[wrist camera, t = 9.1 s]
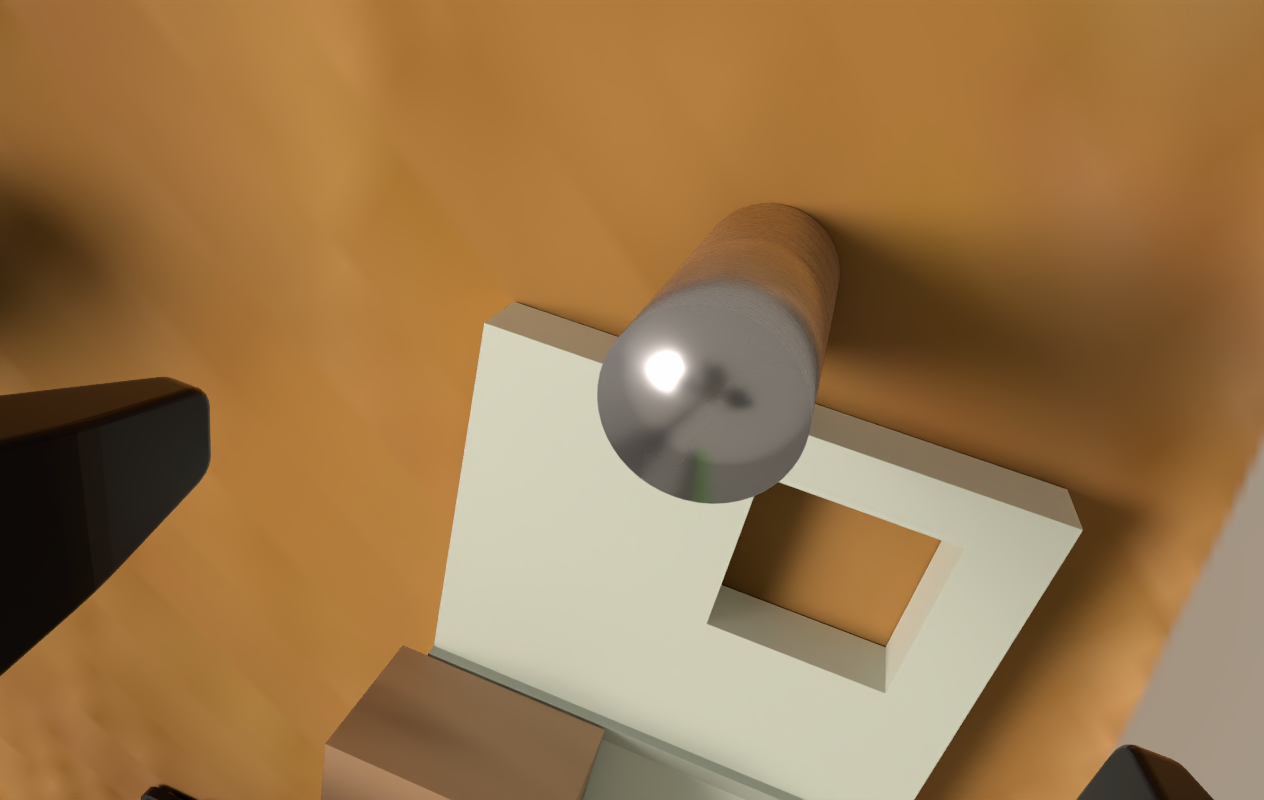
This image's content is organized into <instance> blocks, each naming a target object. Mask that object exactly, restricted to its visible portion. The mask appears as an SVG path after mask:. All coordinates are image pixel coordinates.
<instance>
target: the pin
mask: <svg viewBox="0 0 1264 800" xmlns="http://www.w3.org/2000/svg"><path fill="white" fill-rule="evenodd" d="M839 280H840V266H839V259H838V255H837V251H836V249H835V246H834V244H833V242H832V240H831V238H830V237H829V235H828V233H827V232H826V231H825V230H824V228H823V227H822V226H821V225H820V224H819V223H818V222H817V221H816V220H815V219H813V218H812V217H810V216H809V215H808V214H806V213H804V212H802V211H800V210H798V209H796V208H793V207H790V206H786V205H782V204H774V203H763V204H756V205H751V206H748V207H744V208H742V209H740V210H737V211H735V212H733V213H732V214H730V215H729V216H727V217H726V218H725V219H723V220H722V221H721V222H720V223H719V224H718V225H717V226H716V227H715V228H714V229H713V230H712V232H711V233H710V234H709V235H708V236H707V237H706V238H705V240H704V241H703V242H702V243H701V244H700V245H699V246H698V248H697V249H696V250H695V251H694V252H693V253H692V254H691V256H690V257H689V258H688V259H687V260H686V261H685V262H684V263H683V265H682V266H681V267H680V268H679V269H678V270H677V271H676V273H675V274H674V275H673V276H672V277H671V278H670V279H669V281H668V282H667V283H666V284H665V285H664V286H663V287H662V289H661V290H660V291H659V292H658V293H657V294H656V295H655V297H654V298H653V299H652V300H651V301H650V302H649V303H648V304H647V306H646V307H645V308H644V309H643V310H642V311H641V312H640V314H639V315H638V316H637V317H636V318H635V319H634V320H633V322H632V323H631V324H630V325H629V326H628V327H627V328H626V330H625V331H624V332H623V333H622V334H621V335H620V336H619V338H618V339H617V340H616V341H615V343H614V344H613V345H612V347H611V348H610V350H609V351H608V354H607V356H606V358H605V360H604V362H603V365H602V368H601V371H600V374H599V380H598V386H597V402H598V411H599V415H600V419H601V424H602V426H603V429H604V431H605V434H606V436H607V438H608V440H609V442H610V444H611V446H612V447H613V449H614V450H615V452H616V453H617V455H618V456H619V458H620V459H621V460H622V461H623V462H624V463H625V464H626V466H627V467H628V468H629V469H630V470H632V471H633V472H634V473H635V474H636V475H637V476H638V477H639V478H641V479H642V480H644V481H645V482H646V483H648V484H649V485H651V486H653V487H655V488H656V489H658V490H660V491H662V492H664V493H666V494H669V495H671V496H674V497H677V498H680V499H683V500H687V501H692V502H698V503H709V504H719V503H730V502H736V501H741V500H744V499H748V498H751V497H753V496H756V495H758V494H760V493H762V492H764V491H766V490H768V489H769V488H771V487H773V486H774V485H775V484H777V483H778V482H779V481H780V480H782V479H783V478H784V477H785V476H786V475H787V474H788V473H789V472H790V470H791V469H792V468H793V467H794V465H795V464H796V462H797V461H798V460H799V458H800V456H801V454H802V452H803V450H804V448H805V446H806V443H807V439H808V436H809V432H810V427H811V422H812V417H813V412H814V407H815V402H816V397H817V392H818V387H819V382H820V377H821V372H822V367H823V362H824V357H825V352H826V347H827V342H828V337H829V332H830V327H831V322H832V317H833V312H834V307H835V302H836V296H837V291H838V286H839Z"/></svg>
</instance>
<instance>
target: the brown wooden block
mask: <svg viewBox="0 0 1264 800" xmlns="http://www.w3.org/2000/svg"><path fill="white" fill-rule="evenodd" d="M604 731H605V730H604V729H601V728H599V727H597V726H594V725H592V724H589V723H587V722H585V721H582V720H580V719H577V718H575V717H573V716H570V715H568V714H566V713H563V712H561V711H558V710H556V709H554V708H551V707H549V706H546V705H544V704H542V703H539V702H537V701H534V700H532V699H530V698H527V697H525V696H522V695H520V694H518V693H515V692H513V691H511V690H508V689H506V688H503V687H501V686H499V685H496V684H494V683H491V682H489V681H487V680H484V679H482V678H479V677H477V676H475V675H472V674H470V673H467V672H465V671H463V670H460V669H458V668H456V667H453V666H451V665H448V664H446V663H444V662H441V661H439V660H436V659H434V658H432V657H429V656H427V655H424V654H422V653H420V652H417V651H415V650H412V649H410V648H408V647H405V646H402V647H401V649H400V650H399V651H398V652H397V654H396V655H395V656H394V657H393V659H392V660H391V661H390V662H389V664H388V665H387V666H386V668H385V669H384V670H383V671H382V673H381V674H380V675H379V676H378V678H377V679H376V680H375V681H374V683H373V684H372V685H371V687H370V688H369V689H368V690H367V692H366V693H365V694H364V695H363V697H362V698H361V699H360V700H359V702H358V703H357V704H356V706H355V707H354V708H353V709H352V711H351V712H350V713H349V714H348V716H347V717H346V718H345V719H344V721H343V722H342V723H341V725H340V726H339V727H338V728H337V730H336V731H335V732H334V733H333V735H332V736H331V737H330V738H329V740H328V741H327V742H326V744H325V754H324V768H323V781H322V795H321V800H583V797H584V794H585V791H586V788H587V785H588V782H589V778H590V775H591V772H592V769H593V766H594V763H595V760H596V756H597V753H598V750H599V747H600V744H601V741H602V738H603V734H604Z"/></svg>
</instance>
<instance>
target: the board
mask: <svg viewBox="0 0 1264 800" xmlns="http://www.w3.org/2000/svg"><path fill="white" fill-rule="evenodd" d="M618 338H619V337H617V336H614V335H611V334H608V333H605V332H602V331H599V330H596V329H593V328H590V327H588V326H585V325H582V324H579V323H576V322H573V321H570V320H567V319H564V318H561V317H558V316H555V315H552V314H549V313H546V312H543V311H540V310H537V309H535V308H532V307H529V306H526V305H523V304H520V303H517V302H513V303H511V304H510V305H509V306H507V307H506V308H504V309H503V310H502V311H500V312H499V313H498V314H496V315H495V316H493V317H492V318H491V319H489V320H488V321H487V322H485V323H484V329H483V336H482V342H481V349H480V355H479V361H478V368H477V374H476V380H475V387H474V393H473V400H472V406H471V412H470V419H469V425H468V432H467V438H466V444H465V451H464V457H463V464H462V470H461V476H460V483H459V489H458V495H457V502H456V508H455V515H454V521H453V527H452V534H451V540H450V547H449V553H448V559H447V566H446V572H445V579H444V585H443V591H442V598H441V604H440V610H439V617H438V623H437V630H436V636H435V642H434V646H433V648H432V649H431V650H430V652H429V654H428V656H429V657H432V658H434V659H436V660H439V661H441V662H444V663H446V664H448V665H451V666H453V667H456V668H458V669H460V670H463V671H465V672H467V673H470V674H472V675H475V676H477V677H479V678H482V679H484V680H487V681H489V682H491V683H494V684H496V685H499V686H501V687H503V688H506V689H508V690H511V691H513V692H515V693H518V694H520V695H522V696H525V697H527V698H530V699H532V700H534V701H537V702H539V703H542V704H544V705H546V706H549V707H551V708H554V709H556V710H558V711H561V712H563V713H566V714H568V715H570V716H573V717H575V718H577V719H580V720H582V721H585V722H587V723H589V724H592V725H594V726H597V727H599V728H601V729H604V730H605V731H604V734H603V738H602V741H601V744H600V747H599V750H598V753H597V756H596V760H595V763H594V766H593V769H592V772H591V775H590V778H589V782H588V785H587V788H586V791H585V794H584V797H583V800H914V799H915V798H916V796H917V794H918V793H919V791H920V790H921V788H922V786H923V785H924V783H925V782H926V780H927V778H928V777H929V775H930V774H931V772H932V770H933V769H934V767H935V766H936V764H937V762H938V761H939V759H940V758H941V756H942V754H943V753H944V751H945V750H946V748H947V746H948V745H949V743H950V742H951V740H952V738H953V737H954V735H955V734H956V732H957V730H958V729H959V727H960V726H961V724H962V722H963V721H964V719H965V718H966V716H967V715H968V713H969V711H970V710H971V708H972V707H973V705H974V703H975V702H976V700H977V699H978V697H979V695H980V694H981V692H982V691H983V689H984V687H985V686H986V684H987V683H988V681H989V679H990V678H991V676H992V675H993V673H994V671H995V670H996V668H997V667H998V665H999V663H1000V662H1001V660H1002V659H1003V657H1004V655H1005V654H1006V652H1007V651H1008V649H1009V647H1010V646H1011V644H1012V643H1013V641H1014V639H1015V638H1016V636H1017V635H1018V633H1019V631H1020V630H1021V628H1022V627H1023V625H1024V624H1025V622H1026V620H1027V619H1028V617H1029V616H1030V614H1031V612H1032V611H1033V609H1034V608H1035V606H1036V604H1037V603H1038V601H1039V600H1040V598H1041V596H1042V595H1043V593H1044V592H1045V590H1046V588H1047V587H1048V585H1049V584H1050V582H1051V580H1052V579H1053V577H1054V576H1055V574H1056V572H1057V571H1058V569H1059V568H1060V566H1061V564H1062V563H1063V561H1064V560H1065V558H1066V556H1067V555H1068V553H1069V552H1070V550H1071V548H1072V547H1073V545H1074V544H1075V542H1076V541H1077V539H1078V537H1079V536H1080V534H1081V533H1082V531H1083V529H1082V526H1081V524H1080V521H1079V518H1078V516H1077V513H1076V511H1075V508H1074V505H1073V503H1072V500H1071V498H1070V495H1069V493H1068V490H1067V489H1064V488H1061V487H1058V486H1056V485H1053V484H1050V483H1047V482H1044V481H1041V480H1038V479H1035V478H1032V477H1029V476H1026V475H1023V474H1020V473H1017V472H1014V471H1011V470H1008V469H1005V468H1003V467H1000V466H997V465H994V464H991V463H988V462H985V461H982V460H979V459H976V458H973V457H970V456H967V455H964V454H961V453H958V452H955V451H953V450H950V449H947V448H944V447H941V446H938V445H935V444H932V443H929V442H926V441H923V440H920V439H917V438H914V437H911V436H908V435H905V434H902V433H900V432H897V431H894V430H891V429H888V428H885V427H882V426H879V425H876V424H873V423H870V422H867V421H864V420H861V419H858V418H855V417H852V416H849V415H847V414H844V413H841V412H838V411H835V410H832V409H829V408H826V407H823V406H820V405H817V404H815V407H814V412H813V417H812V422H811V427H810V432H809V436H808V439H807V443H806V446H805V448H804V450H803V452H802V454H801V456H800V458H799V460H798V461H797V462H796V464H795V465H794V467H793V468H792V469H791V470H790V472H789V473H788V474H787V475H786V476H785V477H784V478H783V479H782V480H780V481H779V482H780V483H783V484H785V485H788V486H791V487H794V488H797V489H799V490H802V491H805V492H808V493H811V494H813V495H816V496H819V497H822V498H825V499H827V500H830V501H833V502H836V503H839V504H841V505H844V506H847V507H850V508H853V509H855V510H858V511H861V512H864V513H867V514H869V515H872V516H875V517H878V518H881V519H883V520H886V521H889V522H892V523H895V524H897V525H900V526H903V527H906V528H909V529H911V530H914V531H917V532H920V533H923V534H925V535H928V536H931V537H934V538H937V539H939V540H942V541H941V543H940V545H939V547H938V549H937V551H936V552H935V554H934V556H933V558H932V560H931V562H930V564H929V566H928V568H927V570H926V571H925V573H924V575H923V577H922V579H921V581H920V583H919V585H918V587H917V589H916V590H915V592H914V594H913V596H912V598H911V600H910V602H909V604H908V606H907V608H906V610H905V611H904V613H903V615H902V617H901V619H900V621H899V623H898V625H897V627H896V629H895V630H894V632H893V634H892V636H891V638H890V640H889V642H888V644H887V646H886V647H883V646H880V645H878V644H875V643H873V642H870V641H867V640H865V639H862V638H859V637H857V636H854V635H852V634H849V633H846V632H844V631H841V630H838V629H836V628H833V627H831V626H828V625H825V624H823V623H820V622H817V621H815V620H812V619H810V618H807V617H804V616H802V615H799V614H796V613H794V612H791V611H789V610H786V609H783V608H781V607H778V606H775V605H773V604H770V603H768V602H765V601H762V600H760V599H757V598H754V597H752V596H749V595H747V594H744V593H741V592H739V591H736V590H733V589H731V588H728V587H726V586H723V585H721V584H722V581H723V579H724V576H725V573H726V570H727V568H728V565H729V562H730V560H731V557H732V554H733V552H734V549H735V546H736V544H737V541H738V538H739V536H740V533H741V530H742V527H743V525H744V522H745V519H746V517H747V514H748V511H749V509H750V506H751V503H752V501H753V498H754V496H753V497H751V498H748V499H744V500H741V501H736V502H730V503H719V504H709V503H698V502H692V501H687V500H683V499H680V498H677V497H674V496H671V495H669V494H666V493H664V492H662V491H660V490H658V489H656V488H655V487H653V486H651V485H649V484H648V483H646V482H645V481H644V480H642V479H641V478H639V477H638V476H637V475H636V474H635V473H634V472H633V471H632V470H630V469H629V468H628V467H627V466H626V464H625V463H624V462H623V461H622V460H621V459H620V458H619V456H618V455H617V453H616V452H615V450H614V449H613V447H612V446H611V444H610V442H609V440H608V438H607V436H606V434H605V431H604V429H603V426H602V424H601V419H600V415H599V411H598V402H597V386H598V380H599V374H600V371H601V368H602V365H603V362H604V360H605V358H606V356H607V354H608V351H609V350H610V348H611V347H612V345H613V344H614V343H615V341H616V340H617V339H618Z"/></svg>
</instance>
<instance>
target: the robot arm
mask: <svg viewBox="0 0 1264 800" xmlns="http://www.w3.org/2000/svg"><path fill="white" fill-rule="evenodd" d="M210 458H211V444H210V405H209V400H208V398H207V396H206V394H205V393H204V392H203V391H202V390H201V389H199V388H197V387H194V386H192V385H189V384H186V383H184V382H181V381H178V380H176V379H173V378H168V377H157V378H148V379H140V380H131V381H122V382H114V383H105V384H96V385H88V386H79V387H70V388H62V389H53V390H44V391H36V392H27V393H18V394H10V395H1V396H0V676H1V675H2V674H3V673H4V672H6V671H7V670H8V669H9V668H10V667H11V666H12V665H13V664H15V663H16V662H17V661H18V660H19V659H20V658H21V657H23V656H24V655H25V654H26V653H27V652H28V651H29V650H31V649H32V648H33V647H34V646H35V645H36V644H37V643H38V642H40V641H41V640H42V639H43V638H44V637H45V636H46V635H48V634H49V633H50V632H51V631H52V630H53V629H54V628H56V627H57V626H58V625H59V624H60V623H61V622H62V621H63V620H65V619H66V618H67V617H68V616H69V615H70V614H71V613H73V612H74V611H75V610H76V609H77V608H78V607H79V606H80V605H81V604H82V603H84V602H85V601H86V600H87V599H88V598H89V597H90V596H91V595H92V594H93V593H94V592H95V591H96V590H97V589H98V588H99V587H100V586H101V585H102V584H103V583H104V582H105V581H106V580H107V579H108V578H109V577H110V576H111V575H112V574H113V573H114V572H115V571H116V570H117V569H118V568H119V567H120V566H121V565H122V564H123V563H124V562H125V561H126V560H127V559H128V557H129V556H130V555H131V554H132V553H133V552H134V551H135V550H136V549H137V548H138V547H139V546H140V545H141V544H142V543H143V542H144V540H145V539H146V538H147V537H148V536H149V535H150V534H151V533H152V532H153V531H154V530H155V529H156V528H157V527H158V526H159V525H160V523H161V522H162V521H163V520H164V519H165V518H166V517H167V516H168V515H169V514H170V513H171V512H172V511H173V510H174V509H175V508H176V507H177V505H178V504H179V503H180V502H181V501H182V500H183V499H184V498H185V497H186V496H187V495H188V494H189V493H190V492H191V491H192V490H193V488H194V487H195V486H196V485H197V484H198V483H199V482H200V481H201V479H202V478H203V476H204V475H205V473H206V471H207V469H208V467H209V463H210ZM141 800H183V799H181V798H179V797H177V796H175V795H173V794H170V793H168V792H166V791H164V790H162V789H160V788H157V787H150V788H149V789H148V790H147V791H146V792H145V793H144V794H143V795H142V796H141ZM1077 800H1213V798H1212V797H1211V796H1210V795H1209V794H1208V793H1207V792H1206V791H1205V790H1204V789H1203V787H1202V786H1201V785H1200V784H1199V783H1198V782H1197V781H1196V780H1195V779H1194V778H1193V776H1192V775H1191V774H1190V773H1189V772H1188V771H1187V770H1186V769H1185V768H1184V767H1183V766H1182V765H1181V764H1179V763H1178V762H1176V761H1174V760H1172V759H1170V758H1167V757H1165V756H1162V755H1160V754H1157V753H1154V752H1152V751H1149V750H1146V749H1144V748H1141V747H1139V746H1136V745H1123V746H1121V747H1119V748H1117V749H1116V750H1115V751H1114V752H1113V753H1112V754H1111V756H1110V757H1109V758H1108V759H1107V761H1106V762H1105V763H1104V765H1103V766H1102V767H1101V769H1100V770H1099V771H1098V772H1097V774H1096V775H1095V776H1094V778H1093V779H1092V780H1091V781H1090V783H1089V784H1088V785H1087V787H1086V788H1085V789H1084V790H1083V792H1082V793H1081V794H1080V796H1079V797H1078V798H1077Z"/></svg>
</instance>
